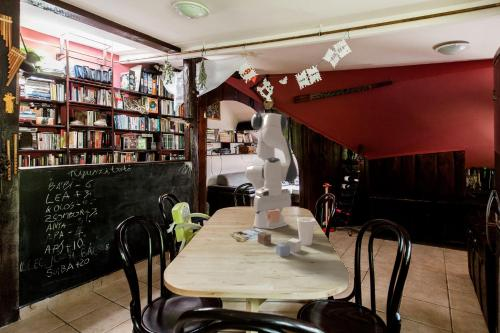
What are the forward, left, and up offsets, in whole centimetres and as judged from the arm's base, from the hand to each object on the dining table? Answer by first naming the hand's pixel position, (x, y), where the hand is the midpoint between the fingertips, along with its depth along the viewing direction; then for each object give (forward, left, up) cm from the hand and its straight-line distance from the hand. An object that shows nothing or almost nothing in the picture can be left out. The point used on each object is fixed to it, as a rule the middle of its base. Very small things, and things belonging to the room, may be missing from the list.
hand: (273, 217), depth 147 cm
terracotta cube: (0, 0, -2) cm, 2 cm away
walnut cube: (0, -9, -16) cm, 18 cm away
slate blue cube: (0, +9, -16) cm, 19 cm away
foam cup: (-19, +2, -16) cm, 25 cm away
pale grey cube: (-8, +7, -16) cm, 19 cm away
